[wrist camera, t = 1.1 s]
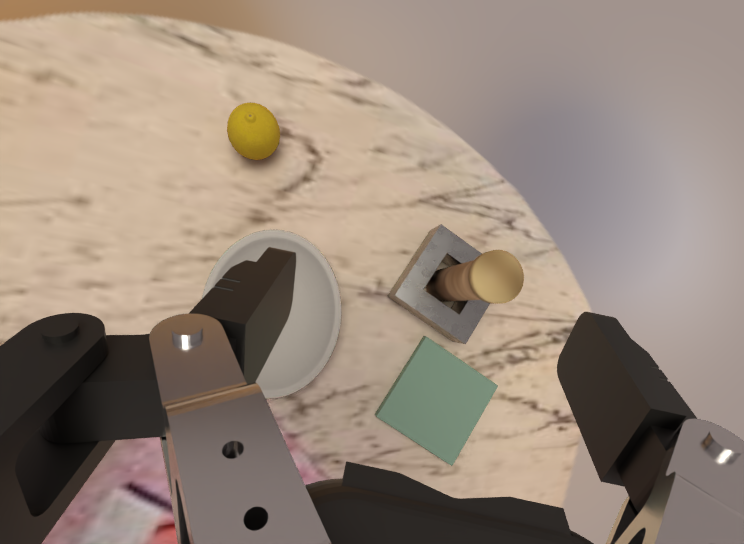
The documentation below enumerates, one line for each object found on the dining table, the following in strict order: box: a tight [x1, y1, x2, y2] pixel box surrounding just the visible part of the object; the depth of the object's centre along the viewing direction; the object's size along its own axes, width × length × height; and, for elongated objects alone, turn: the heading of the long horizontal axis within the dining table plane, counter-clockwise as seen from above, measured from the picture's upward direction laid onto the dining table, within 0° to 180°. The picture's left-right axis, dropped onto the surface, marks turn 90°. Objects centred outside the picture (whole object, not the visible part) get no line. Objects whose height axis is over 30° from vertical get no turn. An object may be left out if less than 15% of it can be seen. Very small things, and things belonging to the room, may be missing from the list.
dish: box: [202, 230, 341, 399], centre depth 46 cm, size 18×14×5 cm
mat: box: [375, 336, 498, 466], centre depth 50 cm, size 11×11×1 cm
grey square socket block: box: [388, 225, 490, 344], centre depth 50 cm, size 10×10×4 cm
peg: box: [426, 250, 524, 303], centre depth 45 cm, size 5×5×15 cm
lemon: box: [227, 103, 280, 160], centre depth 46 cm, size 6×6×8 cm
